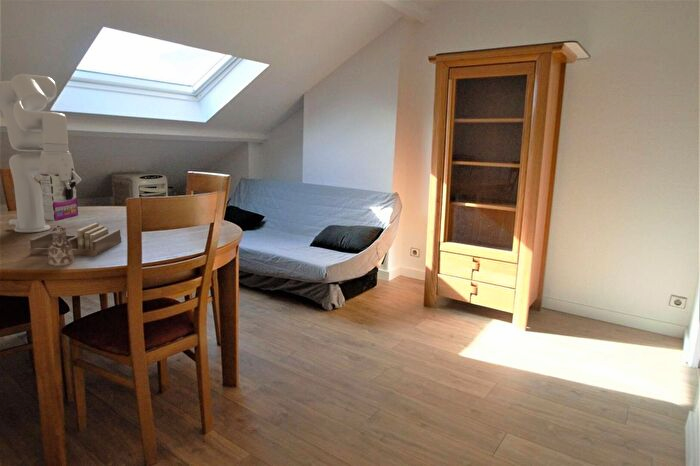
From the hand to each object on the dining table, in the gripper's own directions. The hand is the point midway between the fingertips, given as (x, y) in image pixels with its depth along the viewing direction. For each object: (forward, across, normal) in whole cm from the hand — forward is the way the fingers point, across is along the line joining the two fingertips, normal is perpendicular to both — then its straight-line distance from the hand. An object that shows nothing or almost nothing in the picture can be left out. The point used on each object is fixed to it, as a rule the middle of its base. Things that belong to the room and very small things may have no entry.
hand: (59, 198), depth 169 cm
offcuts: (+18, +12, -1) cm, 21 cm away
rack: (+18, +6, -1) cm, 19 cm away
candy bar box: (+7, 0, 0) cm, 7 cm away
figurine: (+18, +10, -21) cm, 29 cm away
